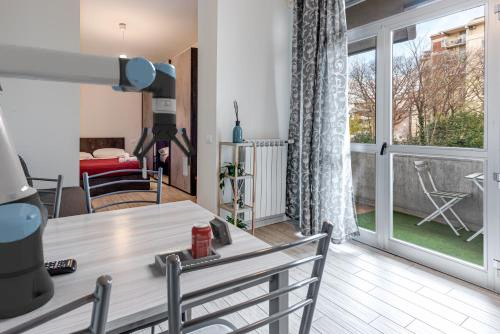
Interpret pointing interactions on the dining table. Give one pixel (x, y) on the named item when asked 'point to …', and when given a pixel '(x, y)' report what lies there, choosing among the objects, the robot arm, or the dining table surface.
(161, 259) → the socket board
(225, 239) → the electrical switch
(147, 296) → the dining table surface
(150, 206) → the dining table surface
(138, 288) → the dining table surface
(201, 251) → the beverage can
